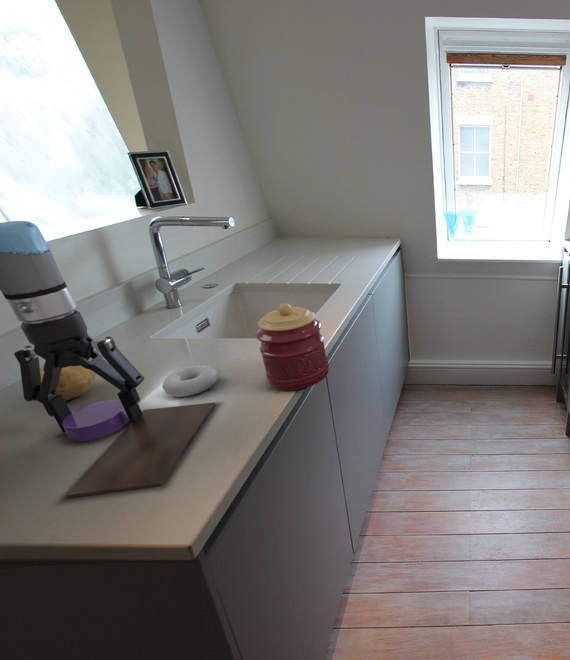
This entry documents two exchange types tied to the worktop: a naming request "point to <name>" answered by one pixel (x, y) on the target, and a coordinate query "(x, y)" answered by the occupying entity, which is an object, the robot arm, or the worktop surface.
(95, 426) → the purple hockey puck
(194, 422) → the placemat
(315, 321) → the kitchen canister
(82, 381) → the potato
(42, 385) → the robot arm
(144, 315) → the worktop surface
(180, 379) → the donut
